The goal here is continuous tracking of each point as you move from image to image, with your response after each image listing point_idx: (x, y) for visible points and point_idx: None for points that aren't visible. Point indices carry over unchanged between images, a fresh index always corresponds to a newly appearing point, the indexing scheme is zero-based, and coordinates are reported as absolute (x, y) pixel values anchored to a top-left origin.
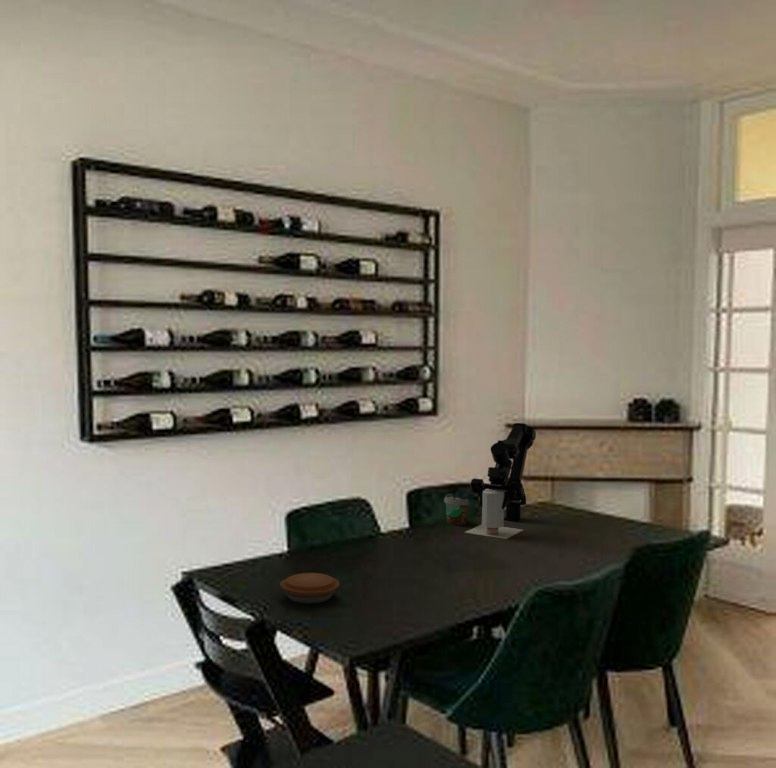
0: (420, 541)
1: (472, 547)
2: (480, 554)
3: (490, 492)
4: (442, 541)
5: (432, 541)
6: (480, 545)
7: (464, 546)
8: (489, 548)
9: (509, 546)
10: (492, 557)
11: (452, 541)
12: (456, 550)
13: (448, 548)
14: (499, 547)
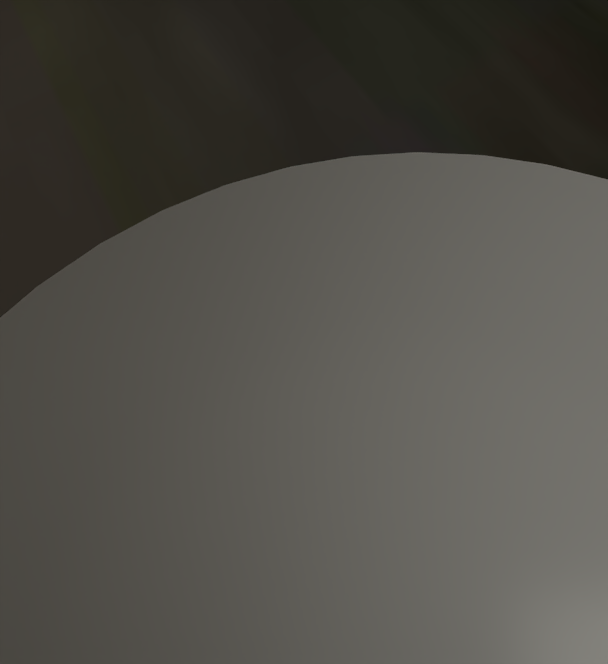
0: (592, 47)
1: (246, 109)
2: (128, 21)
3: (476, 368)
4: (495, 117)
5: (541, 83)
6: (225, 177)
7: (303, 100)
8: (133, 150)
9: (14, 278)
10: (39, 11)
11: (445, 153)
12: (293, 14)
13: (356, 21)
14: (77, 210)
